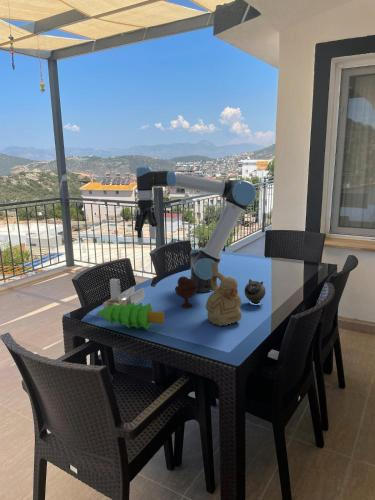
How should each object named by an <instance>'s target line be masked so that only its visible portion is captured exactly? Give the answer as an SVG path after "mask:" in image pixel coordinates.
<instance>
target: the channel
mask: <svg viewBox="0 0 375 500" xmlns="http://www.w3.org/2000/svg"><path fill="white" fill-rule="evenodd" d="M135 290H136V289H135V286H131V287H129V288H127V289H125V290H124V291H121V298H122V297H123V296H125V295H126V294H128V293H132V294H131V295H130V296H129V302H128V303H127V305H129V304H131V303H134V304H135V305H136V304H137V303H138V304H139V303H140V302H141V301H142V300H144V299H145V295H146V294H145V287H141V288H139V289H137V290H136V291H135Z"/></svg>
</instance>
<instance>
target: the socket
mask: <svg viewBox="0 0 375 500" xmlns="http://www.w3.org/2000/svg"><path fill="white" fill-rule="evenodd" d="M114 304H116V306H119V305H121V304H124V306H126V305H127V300H124V299H123V300H122V301H120V302H118V303H113V302H111V298H109V299H108V300H105V301H104V302H103V303H102V306H103V307H102V310H103V309H105V308H107V307H109V306H112V305H114Z"/></svg>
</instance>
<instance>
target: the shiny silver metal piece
mask: <svg viewBox="0 0 375 500" xmlns="http://www.w3.org/2000/svg"><path fill="white" fill-rule="evenodd" d="M109 288H110V299H111V302H113V303H118V302H120V301H122V300H123V299H124V300H127V303H128V302H129V296H130V295H131V294H132V293H128V294H126V295H125V296H123V297H122V298H121V293H122V291H121V279H120V278H111V279H109Z"/></svg>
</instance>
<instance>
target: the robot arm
mask: <svg viewBox="0 0 375 500" xmlns="http://www.w3.org/2000/svg"><path fill="white" fill-rule="evenodd" d="M155 187H156V188H157V187H158V188H159V187H161V188H162V187H164V188H165V187H169V188H177V189H184V190H188V191H195V192H200V193H205V194H213V195H218V196H219V197H220V198H223V199H225V200H224V202H225V206H224V209H223V210H222V212H221V214H220V217H219V219H218V220H217V222H216V224H215V226H214V228H213V230H212V233H211V234H210V236H209V239H208V241H207V242H206V244H205V246H204V247H200V248H199V247H198V248H192V249H191V250H190V254H189V255H190V277H189V279H191V280H193V281H194V283H195V286H197V291H196V293H208V292H207V291H210V290H213V288H212V284H211V276H212V274H213V272H212V266H211V263H218V265H219V264H220V261H221V260H222V257H221V253H222V252H223V250H224V248H225V245H226V243H227V242H228V239H229V238H230V235H231V234H232V232H233V230H234V228H235V226H236V224H237V222H238V220H239V218H240V216H241V214H243V213H244V212H246V211H247V209H248V207H249V205H250V204H252V203H253V201H255V198H256V195H257V191H256V188H255V187H256V186H255V185H254V184H253V183H252V182H250V181H248V180H245V179H222V180H219V179H212V178H208V177H202V176H198V175H197V176H196V175H191V174H183V173H178V172H176V170H157V171H155V170H153V169H152V167H151V166H148V167H143V166H142V167H137V168H136V191H137V193H136V195H137V199H138V200H137V207H138V208H140V209H139V210H136V218H135V223H134V231H135V232H136V233H137V245H144V231H143V228H144V225H145V221H146V220H147V221H148V223H149V225H150V226H149V229H150V230H149V232H150V234H149V235H150V237H149V238H150V240H156V239H157V236H156V234H157V232H156V230H157V229H156V227H158V221H157V216H156V214H155V213H156V212H155V208H154V199H153V198H154V195H153V194H154V193H153V188H155ZM213 291H214V290H213ZM210 292H211V291H210Z"/></svg>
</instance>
